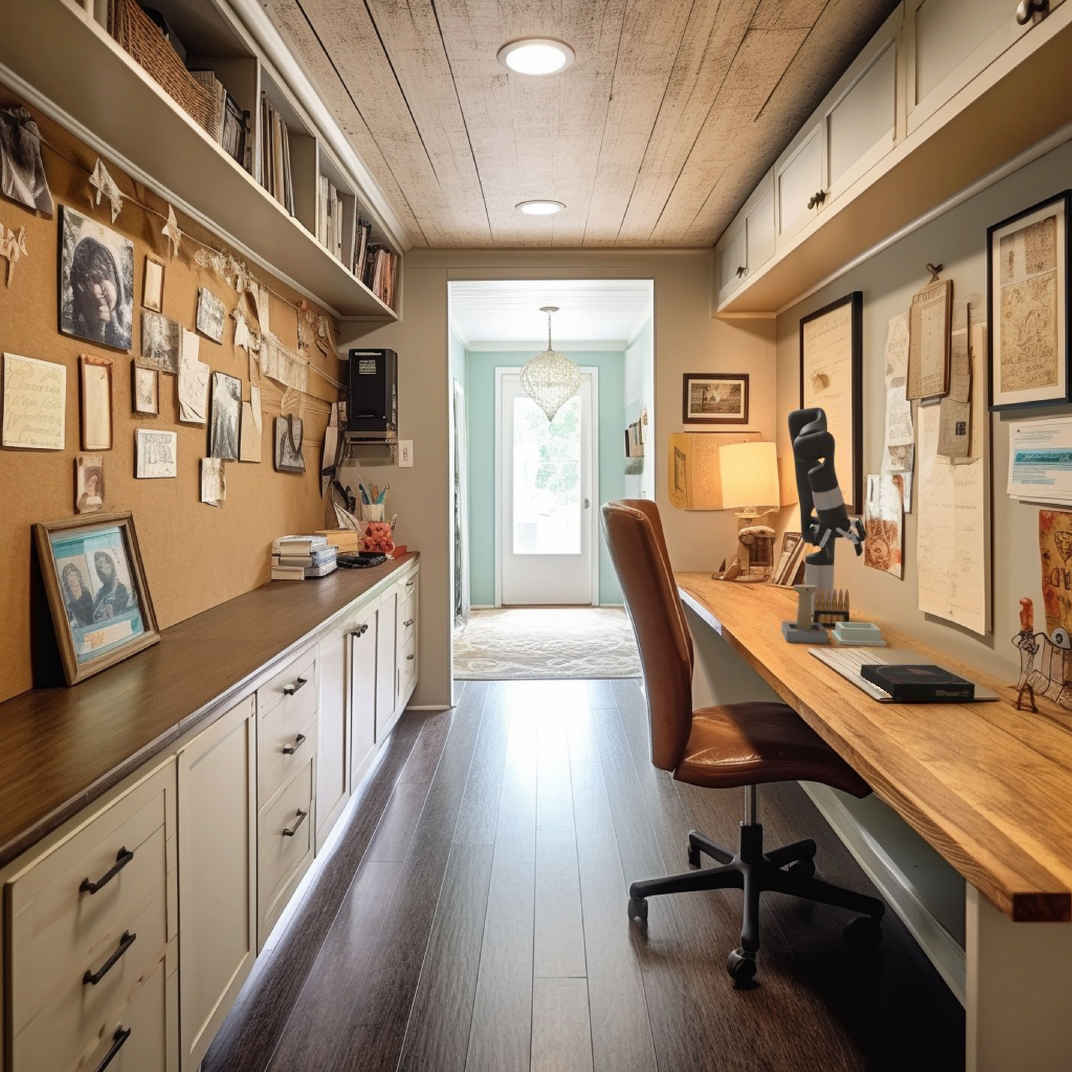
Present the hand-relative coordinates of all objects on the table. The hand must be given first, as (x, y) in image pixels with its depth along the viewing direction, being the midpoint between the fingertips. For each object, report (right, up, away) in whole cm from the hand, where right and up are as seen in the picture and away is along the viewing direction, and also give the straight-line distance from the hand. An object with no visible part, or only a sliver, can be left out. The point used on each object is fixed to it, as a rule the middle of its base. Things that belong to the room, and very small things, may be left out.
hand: (843, 556), depth 212 cm
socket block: (-8, -24, +8) cm, 26 cm away
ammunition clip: (+6, -23, +25) cm, 34 cm away
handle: (-8, -24, +8) cm, 26 cm away
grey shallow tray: (+6, -24, +5) cm, 25 cm away
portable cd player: (-4, -28, -47) cm, 55 cm away
